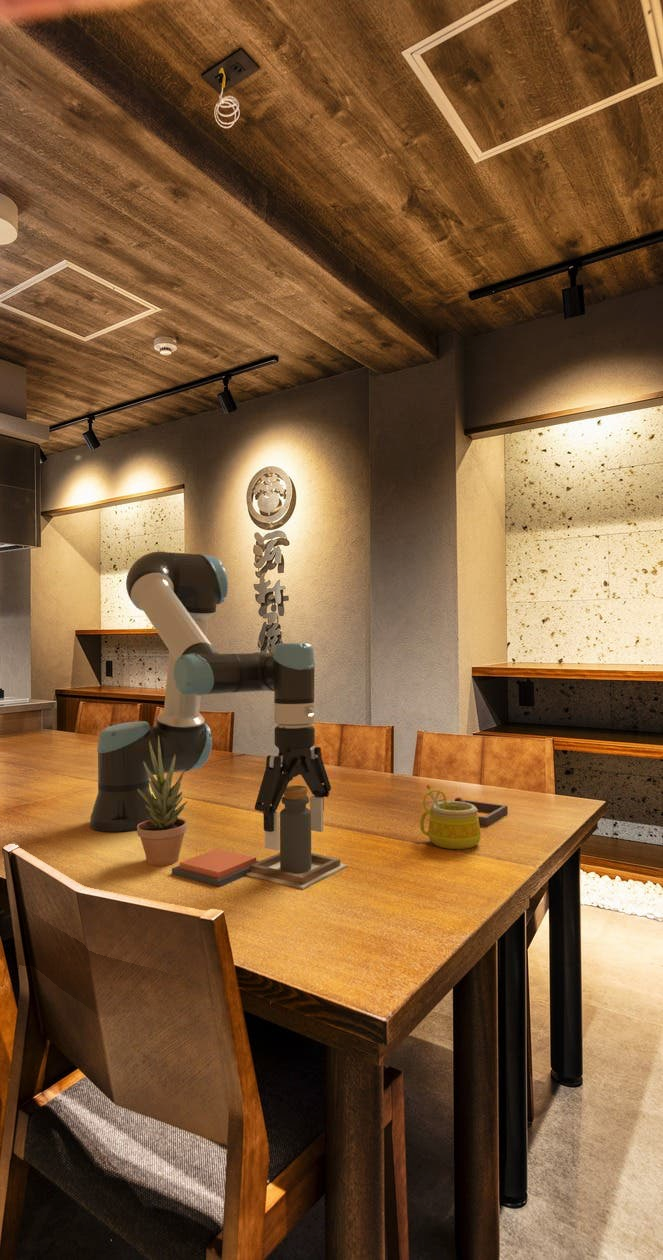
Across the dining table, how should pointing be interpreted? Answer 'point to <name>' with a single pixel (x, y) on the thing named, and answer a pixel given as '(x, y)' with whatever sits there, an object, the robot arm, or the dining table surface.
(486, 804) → the pastry tray
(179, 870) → the ink pad
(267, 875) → the frame
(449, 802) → the mug
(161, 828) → the potted plant
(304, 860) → the cork-lidded jar
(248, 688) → the robot arm
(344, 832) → the dining table surface
